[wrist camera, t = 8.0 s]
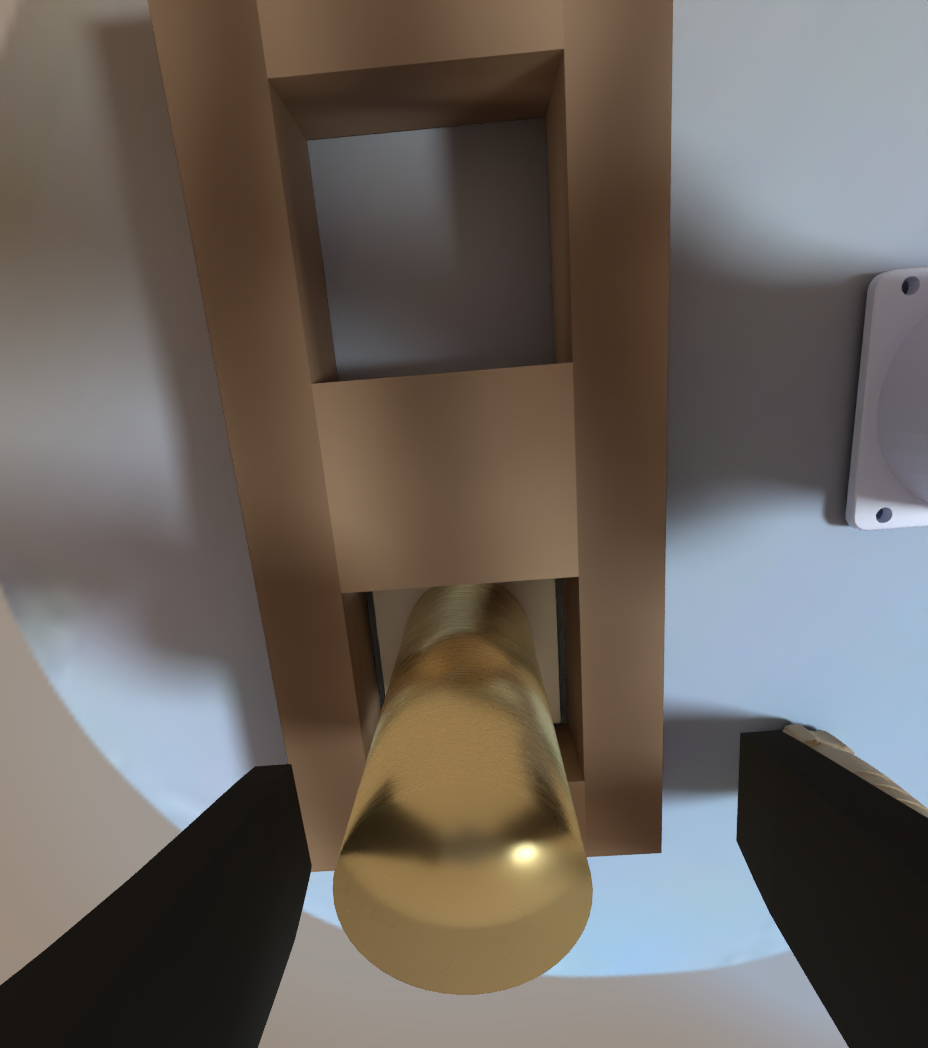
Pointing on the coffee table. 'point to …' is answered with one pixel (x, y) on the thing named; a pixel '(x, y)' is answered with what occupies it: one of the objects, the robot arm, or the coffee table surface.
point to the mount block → (444, 398)
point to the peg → (464, 809)
